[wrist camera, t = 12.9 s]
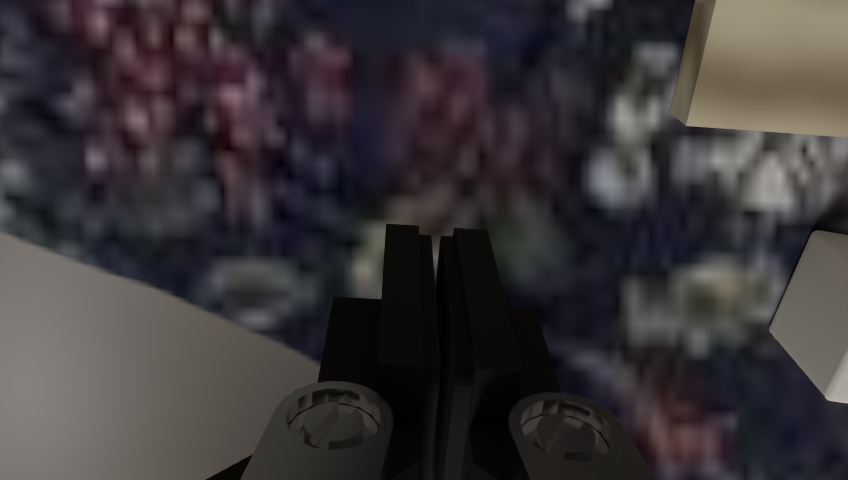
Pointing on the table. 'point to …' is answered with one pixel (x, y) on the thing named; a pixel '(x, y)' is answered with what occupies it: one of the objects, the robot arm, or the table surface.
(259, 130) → the table surface
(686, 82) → the trap deck
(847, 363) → the medicine bottle
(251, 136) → the table surface
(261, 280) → the table surface
